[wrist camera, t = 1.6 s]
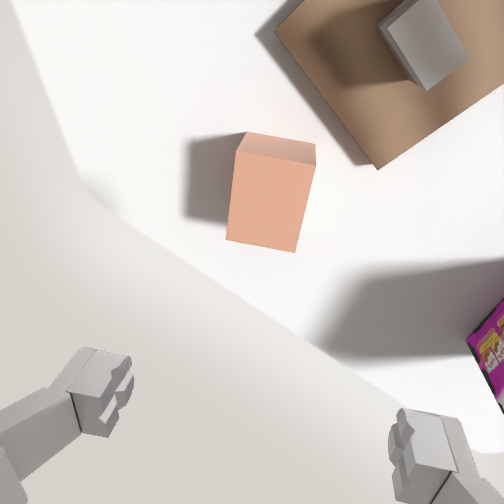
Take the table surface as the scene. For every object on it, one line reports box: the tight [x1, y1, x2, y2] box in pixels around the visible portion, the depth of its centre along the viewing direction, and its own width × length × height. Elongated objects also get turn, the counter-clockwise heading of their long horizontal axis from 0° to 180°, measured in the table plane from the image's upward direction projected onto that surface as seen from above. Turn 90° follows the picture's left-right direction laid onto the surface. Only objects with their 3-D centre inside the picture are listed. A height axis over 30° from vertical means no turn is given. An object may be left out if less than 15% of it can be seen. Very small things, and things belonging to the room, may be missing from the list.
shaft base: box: [274, 0, 504, 170], centre depth 22 cm, size 12×12×6 cm
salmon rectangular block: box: [226, 132, 316, 253], centre depth 29 cm, size 5×7×5 cm
